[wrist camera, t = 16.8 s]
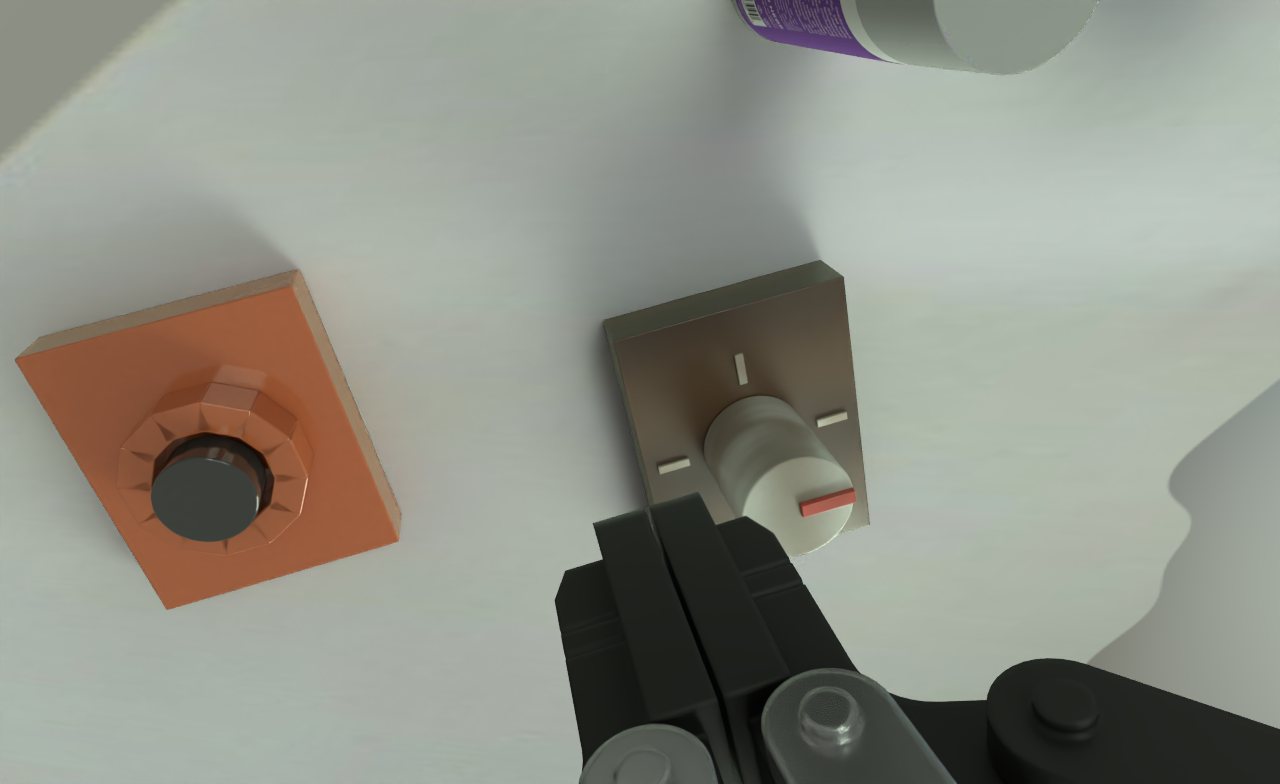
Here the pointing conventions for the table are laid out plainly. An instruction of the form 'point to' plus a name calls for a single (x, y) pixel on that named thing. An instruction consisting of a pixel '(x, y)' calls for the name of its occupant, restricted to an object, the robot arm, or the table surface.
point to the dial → (778, 473)
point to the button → (209, 489)
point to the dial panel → (738, 375)
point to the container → (926, 30)
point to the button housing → (219, 430)
